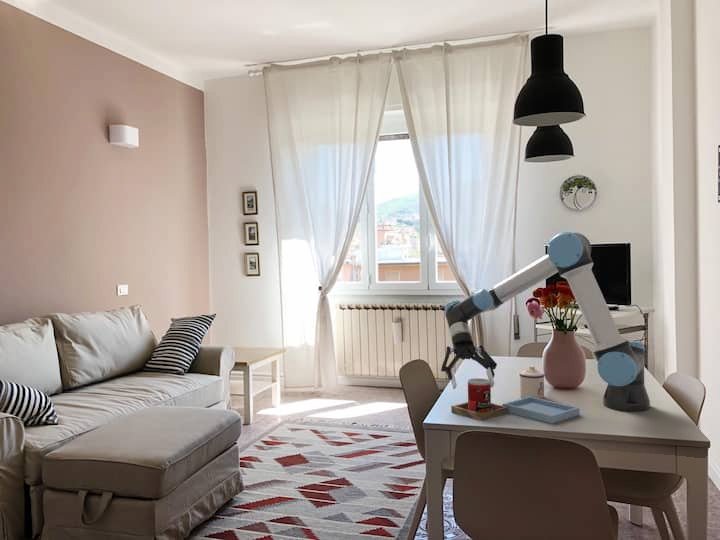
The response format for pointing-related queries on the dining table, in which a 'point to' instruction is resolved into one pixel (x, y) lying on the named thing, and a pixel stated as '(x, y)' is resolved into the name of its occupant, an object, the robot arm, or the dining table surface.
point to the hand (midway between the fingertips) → (473, 386)
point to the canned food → (479, 395)
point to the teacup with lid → (532, 383)
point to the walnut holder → (495, 411)
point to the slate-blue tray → (541, 409)
